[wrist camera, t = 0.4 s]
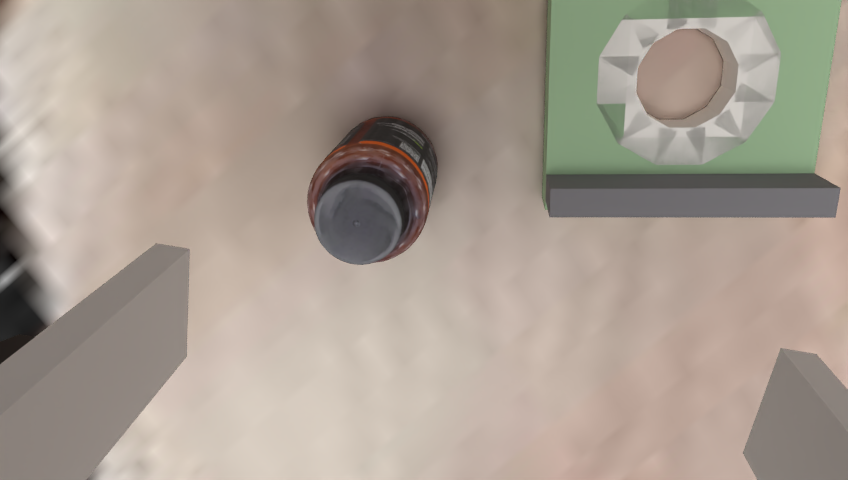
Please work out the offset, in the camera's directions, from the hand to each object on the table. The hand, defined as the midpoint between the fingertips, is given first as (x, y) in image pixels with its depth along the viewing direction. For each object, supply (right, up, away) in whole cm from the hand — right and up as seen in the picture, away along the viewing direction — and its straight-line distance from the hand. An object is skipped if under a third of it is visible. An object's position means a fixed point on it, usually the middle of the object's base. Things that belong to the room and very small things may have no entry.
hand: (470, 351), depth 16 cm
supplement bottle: (-3, +7, +26) cm, 28 cm away
